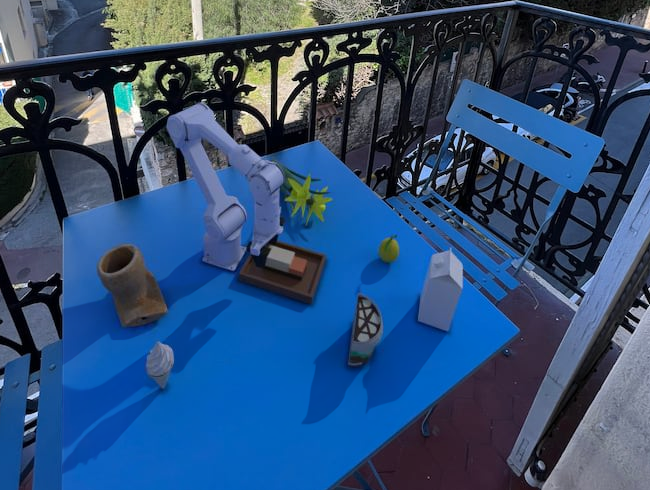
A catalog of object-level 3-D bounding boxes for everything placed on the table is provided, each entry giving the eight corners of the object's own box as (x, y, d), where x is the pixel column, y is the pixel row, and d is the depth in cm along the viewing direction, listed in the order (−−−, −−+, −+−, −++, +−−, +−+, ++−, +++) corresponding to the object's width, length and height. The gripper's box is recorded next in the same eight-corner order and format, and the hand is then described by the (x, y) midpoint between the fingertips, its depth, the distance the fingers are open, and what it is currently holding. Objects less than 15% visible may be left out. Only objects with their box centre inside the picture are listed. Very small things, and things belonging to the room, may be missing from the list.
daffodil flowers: (301, 169, 148) (354, 210, 118) (271, 198, 144) (319, 248, 114) (275, 137, 141) (326, 172, 111) (243, 167, 137) (287, 211, 107)
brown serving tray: (238, 280, 103) (238, 273, 102) (259, 241, 115) (260, 235, 114) (311, 304, 99) (312, 297, 98) (325, 261, 111) (326, 254, 110)
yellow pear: (381, 272, 109) (386, 245, 105) (371, 254, 114) (376, 228, 110) (402, 266, 111) (409, 240, 107) (392, 250, 116) (398, 224, 112)
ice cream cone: (161, 408, 77) (154, 360, 71) (144, 391, 79) (136, 343, 73) (182, 384, 81) (177, 337, 75) (165, 368, 83) (159, 321, 77)
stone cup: (101, 290, 98) (91, 246, 92) (152, 269, 104) (146, 226, 98) (113, 345, 87) (103, 298, 80) (169, 317, 93) (164, 272, 87)
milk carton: (449, 306, 101) (466, 251, 93) (448, 332, 95) (467, 276, 87) (420, 296, 103) (435, 242, 95) (417, 321, 97) (433, 265, 89)
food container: (376, 381, 84) (383, 351, 80) (347, 373, 85) (352, 344, 81) (379, 325, 95) (385, 297, 91) (353, 319, 96) (358, 290, 92)
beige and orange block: (261, 268, 106) (262, 256, 104) (268, 255, 110) (268, 243, 108) (301, 280, 104) (302, 268, 102) (306, 267, 107) (307, 255, 106)
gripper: (271, 238, 87) (270, 282, 92) (292, 195, 99) (291, 237, 105) (241, 230, 88) (242, 274, 94) (266, 189, 101) (265, 230, 107)
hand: (266, 254), depth 99 cm, fingers open, 7 cm apart
